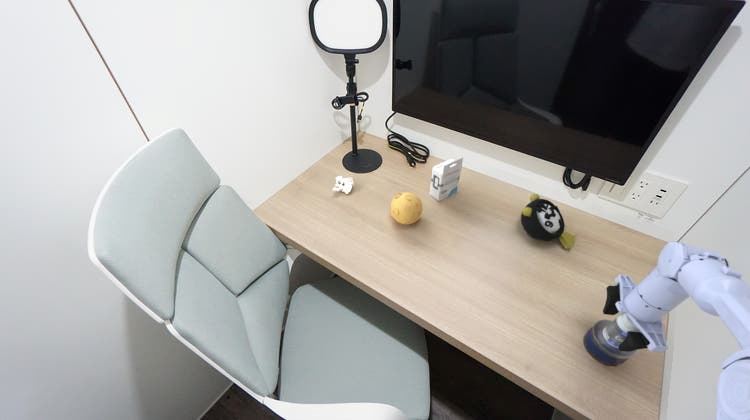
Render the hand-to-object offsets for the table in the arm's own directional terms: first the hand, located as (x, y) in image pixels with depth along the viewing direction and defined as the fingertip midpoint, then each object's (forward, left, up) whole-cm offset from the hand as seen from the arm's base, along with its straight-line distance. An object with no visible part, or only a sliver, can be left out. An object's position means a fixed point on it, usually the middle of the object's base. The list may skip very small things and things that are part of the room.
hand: (615, 330), depth 64 cm
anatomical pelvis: (+73, +38, -8) cm, 83 cm away
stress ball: (+51, +24, -8) cm, 57 cm away
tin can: (-1, -1, -8) cm, 8 cm away
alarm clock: (+31, -11, -8) cm, 34 cm away
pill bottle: (-1, -1, -3) cm, 4 cm away
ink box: (+58, +7, -8) cm, 59 cm away
